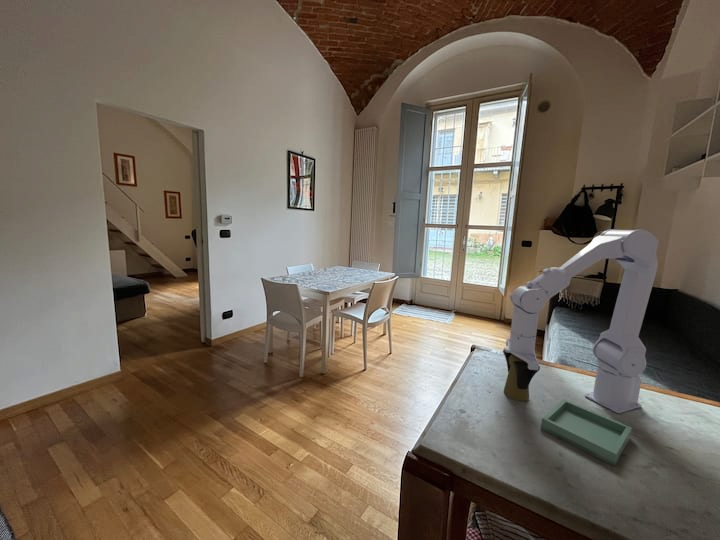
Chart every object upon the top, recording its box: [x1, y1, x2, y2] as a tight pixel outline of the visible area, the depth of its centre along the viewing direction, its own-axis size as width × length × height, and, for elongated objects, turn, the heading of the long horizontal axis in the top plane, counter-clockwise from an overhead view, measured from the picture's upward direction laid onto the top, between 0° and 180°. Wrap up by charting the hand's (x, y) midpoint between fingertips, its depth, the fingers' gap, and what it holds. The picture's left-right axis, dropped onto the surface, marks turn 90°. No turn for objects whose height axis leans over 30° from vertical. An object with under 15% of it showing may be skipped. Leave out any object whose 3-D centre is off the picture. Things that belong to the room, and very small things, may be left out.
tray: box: [540, 398, 633, 467], centre depth 63 cm, size 13×13×2 cm
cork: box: [503, 354, 530, 402], centre depth 77 cm, size 6×6×11 cm
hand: (517, 382), depth 77 cm, fingers closed on cork, 5 cm apart
